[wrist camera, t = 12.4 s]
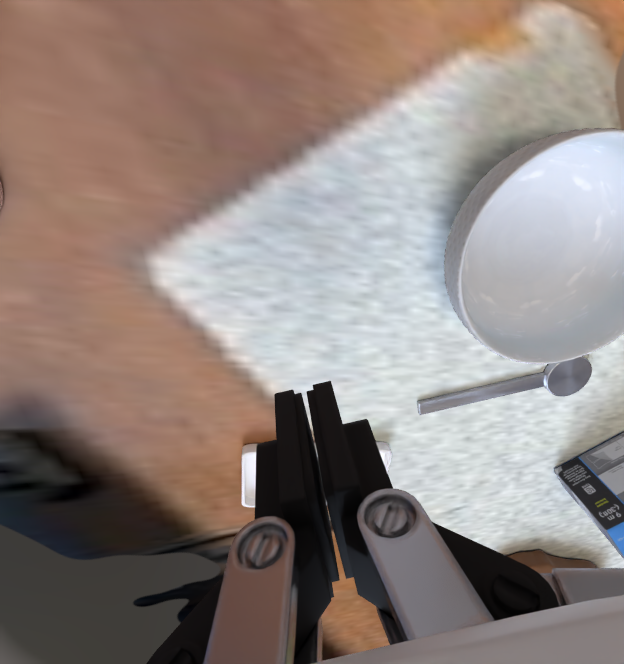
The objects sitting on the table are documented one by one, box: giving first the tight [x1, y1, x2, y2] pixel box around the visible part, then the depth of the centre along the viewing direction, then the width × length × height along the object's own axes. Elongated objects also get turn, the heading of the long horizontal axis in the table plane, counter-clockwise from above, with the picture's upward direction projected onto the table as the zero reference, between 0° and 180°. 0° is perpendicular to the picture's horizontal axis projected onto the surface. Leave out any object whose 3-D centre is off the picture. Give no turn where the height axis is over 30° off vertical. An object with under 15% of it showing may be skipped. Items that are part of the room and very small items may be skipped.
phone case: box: [242, 442, 392, 507], centre depth 43 cm, size 7×1×15 cm
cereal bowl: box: [444, 128, 624, 364], centre depth 32 cm, size 17×17×7 cm
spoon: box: [417, 356, 592, 415], centre depth 41 cm, size 5×17×1 cm, turn 101°
